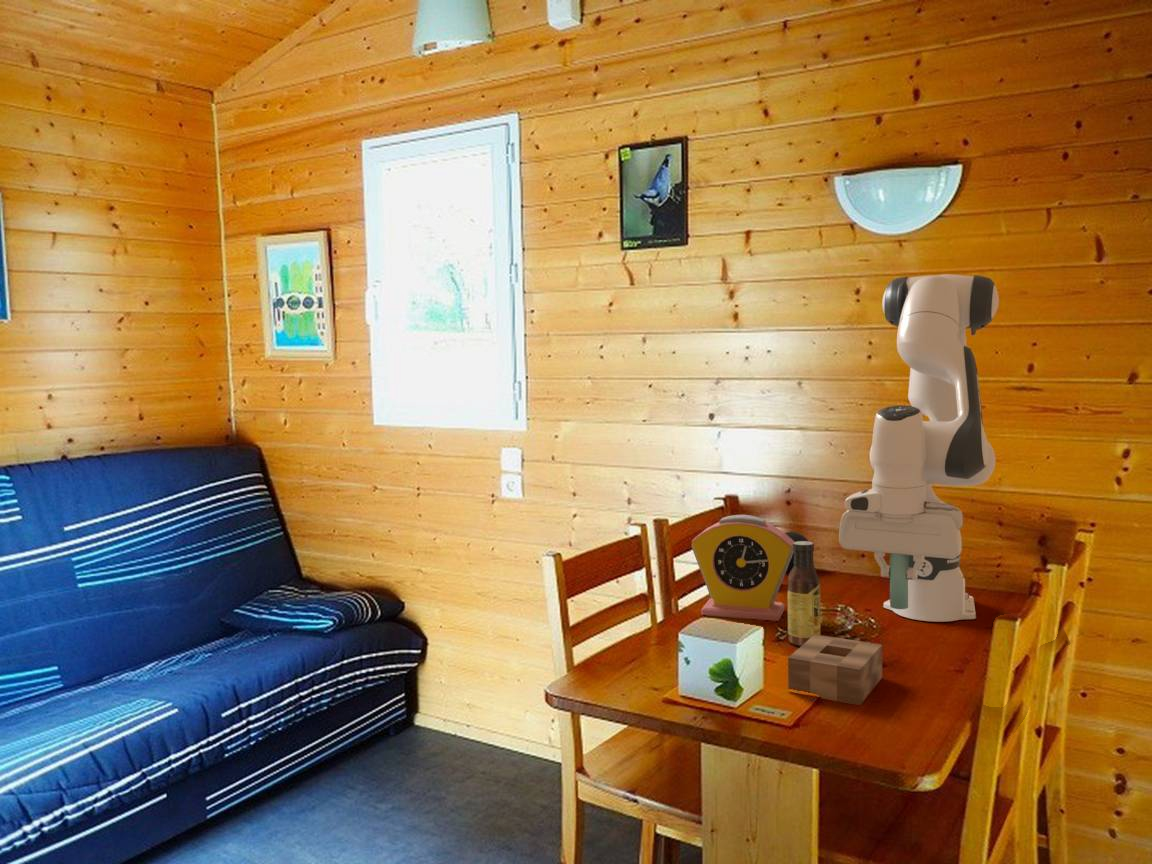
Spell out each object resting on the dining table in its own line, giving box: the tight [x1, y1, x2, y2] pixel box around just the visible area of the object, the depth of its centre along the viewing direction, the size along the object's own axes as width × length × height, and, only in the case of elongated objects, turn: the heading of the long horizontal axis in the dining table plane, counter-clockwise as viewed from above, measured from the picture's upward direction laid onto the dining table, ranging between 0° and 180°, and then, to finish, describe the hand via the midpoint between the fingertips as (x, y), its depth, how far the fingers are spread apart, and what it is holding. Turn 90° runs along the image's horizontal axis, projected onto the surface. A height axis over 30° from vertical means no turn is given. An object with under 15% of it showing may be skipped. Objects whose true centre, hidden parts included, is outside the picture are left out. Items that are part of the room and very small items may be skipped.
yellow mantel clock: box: [690, 514, 794, 622], centre depth 201 cm, size 22×9×22 cm, turn 69°
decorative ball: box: [784, 531, 810, 572], centre depth 237 cm, size 10×10×10 cm
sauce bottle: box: [787, 540, 821, 647], centre depth 180 cm, size 6×6×20 cm
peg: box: [889, 553, 908, 609], centre depth 162 cm, size 3×3×10 cm
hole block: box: [787, 634, 883, 706], centre depth 159 cm, size 14×12×6 cm
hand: (899, 577), depth 162 cm, fingers closed on peg, 3 cm apart
